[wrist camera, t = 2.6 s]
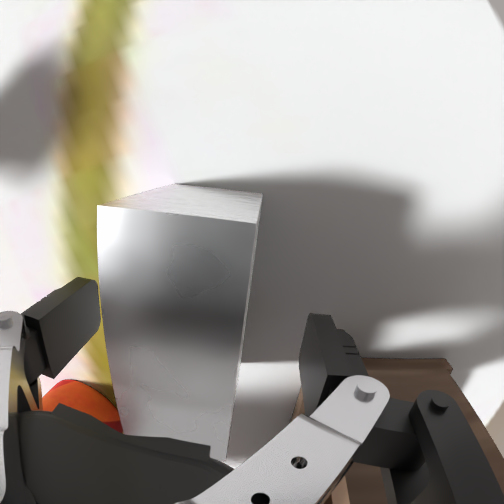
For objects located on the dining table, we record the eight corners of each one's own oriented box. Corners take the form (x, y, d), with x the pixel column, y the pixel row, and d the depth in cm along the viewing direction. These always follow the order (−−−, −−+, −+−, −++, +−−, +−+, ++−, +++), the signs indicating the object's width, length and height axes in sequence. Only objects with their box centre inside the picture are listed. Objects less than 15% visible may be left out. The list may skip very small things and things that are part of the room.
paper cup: (102, 362, 15) (-26, 559, 1) (158, 448, 17) (101, 618, 3) (26, 366, 16) (-81, 492, 2) (79, 441, 18) (12, 566, 4)
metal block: (174, 183, 12) (97, 205, 6) (263, 193, 12) (256, 223, 6) (168, 349, 14) (125, 438, 9) (240, 361, 14) (225, 460, 8)
